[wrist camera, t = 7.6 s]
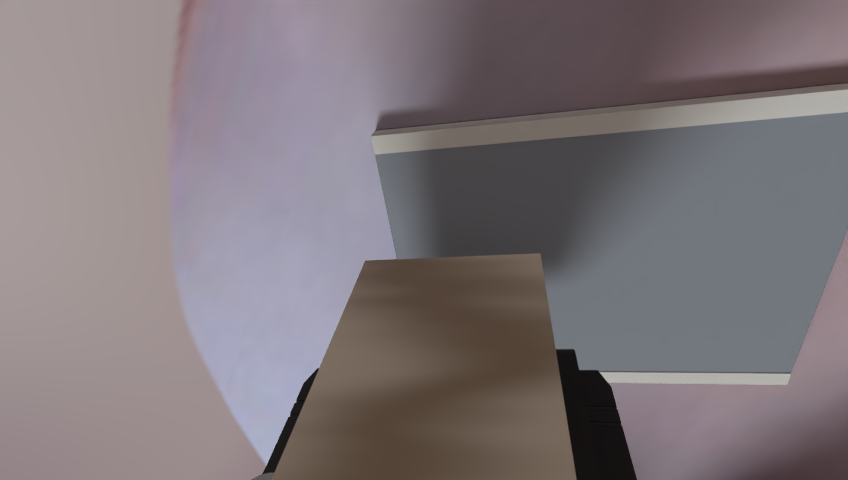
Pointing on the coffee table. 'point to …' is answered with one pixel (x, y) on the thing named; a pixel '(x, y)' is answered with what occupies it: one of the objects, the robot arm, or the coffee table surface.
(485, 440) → the birch block
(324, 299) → the coffee table surface
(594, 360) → the felt mat
